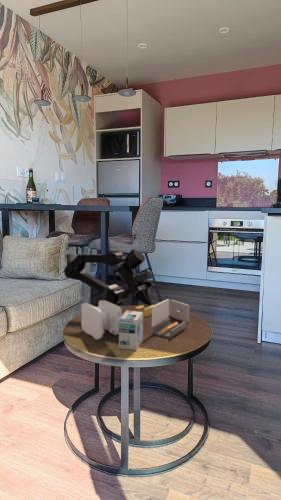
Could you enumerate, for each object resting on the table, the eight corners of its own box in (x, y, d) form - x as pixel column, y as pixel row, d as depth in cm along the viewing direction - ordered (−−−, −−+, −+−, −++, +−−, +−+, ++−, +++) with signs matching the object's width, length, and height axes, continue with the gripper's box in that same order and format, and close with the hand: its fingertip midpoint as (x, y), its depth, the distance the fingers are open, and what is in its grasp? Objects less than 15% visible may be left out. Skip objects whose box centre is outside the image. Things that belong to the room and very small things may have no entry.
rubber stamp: (143, 317, 150) (144, 291, 149) (134, 315, 154) (134, 289, 153) (157, 313, 158) (158, 288, 156) (147, 310, 162) (148, 286, 160)
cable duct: (153, 334, 129) (153, 327, 129) (168, 324, 141) (168, 318, 141) (171, 338, 125) (172, 331, 125) (185, 328, 137) (186, 321, 137)
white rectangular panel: (153, 326, 129) (151, 326, 129) (168, 317, 141) (166, 317, 141) (153, 306, 128) (152, 306, 128) (169, 299, 140) (167, 299, 140)
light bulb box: (137, 350, 113) (137, 320, 112) (117, 348, 114) (118, 318, 113) (143, 339, 124) (143, 311, 123) (125, 337, 125) (126, 309, 124)
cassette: (189, 322, 146) (190, 305, 145) (186, 322, 145) (187, 305, 144) (171, 315, 155) (171, 299, 155) (168, 315, 154) (168, 299, 154)
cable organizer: (79, 330, 132) (80, 301, 131) (102, 325, 138) (103, 298, 137) (98, 342, 120) (98, 311, 119) (122, 336, 126) (123, 306, 125)
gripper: (128, 266, 129) (153, 298, 125) (151, 261, 146) (173, 289, 141) (111, 284, 134) (134, 315, 130) (135, 277, 150) (156, 304, 146)
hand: (151, 305), depth 136 cm, fingers closed
